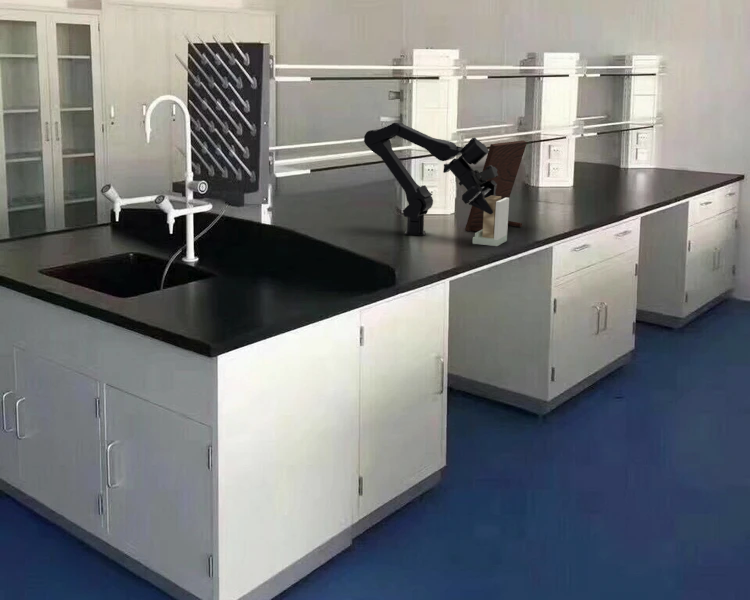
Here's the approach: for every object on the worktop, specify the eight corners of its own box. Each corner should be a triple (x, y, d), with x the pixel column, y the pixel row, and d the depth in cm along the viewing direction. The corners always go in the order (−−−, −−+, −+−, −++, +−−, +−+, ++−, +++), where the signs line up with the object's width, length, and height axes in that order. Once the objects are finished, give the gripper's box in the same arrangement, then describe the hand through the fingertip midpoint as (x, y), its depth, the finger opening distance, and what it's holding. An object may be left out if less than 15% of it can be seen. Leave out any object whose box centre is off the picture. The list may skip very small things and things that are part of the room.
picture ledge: (472, 243, 288) (474, 199, 284) (482, 238, 297) (484, 195, 293) (497, 246, 284) (499, 202, 281) (506, 240, 293) (509, 197, 289)
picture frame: (497, 223, 324) (502, 138, 316) (523, 227, 318) (528, 140, 310) (464, 230, 308) (469, 142, 300) (491, 235, 302) (496, 144, 294)
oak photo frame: (481, 237, 288) (483, 198, 284) (488, 233, 293) (490, 195, 290) (492, 238, 286) (495, 199, 283) (499, 234, 292) (501, 196, 289)
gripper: (473, 160, 277) (505, 199, 275) (492, 154, 293) (523, 191, 292) (448, 183, 282) (479, 222, 280) (468, 177, 298) (498, 213, 297)
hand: (496, 211), depth 287 cm, fingers open, 8 cm apart
